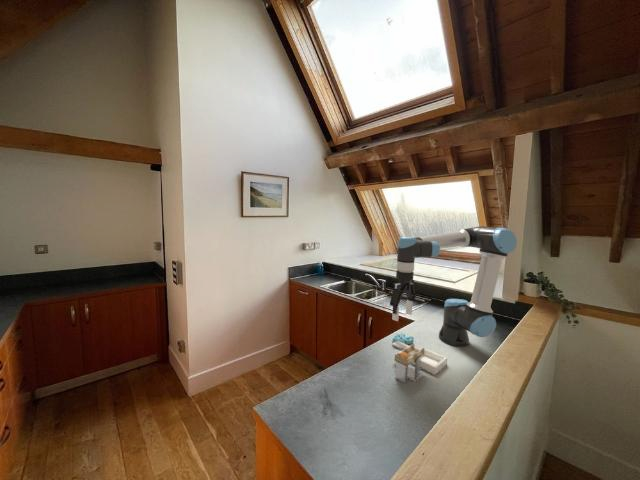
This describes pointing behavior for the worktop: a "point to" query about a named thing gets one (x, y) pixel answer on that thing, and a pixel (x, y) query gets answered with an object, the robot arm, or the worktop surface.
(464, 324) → the robot arm
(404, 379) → the fulcrum
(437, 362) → the dish
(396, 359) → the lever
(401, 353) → the ball
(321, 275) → the worktop surface
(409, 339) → the toy
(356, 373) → the worktop surface
